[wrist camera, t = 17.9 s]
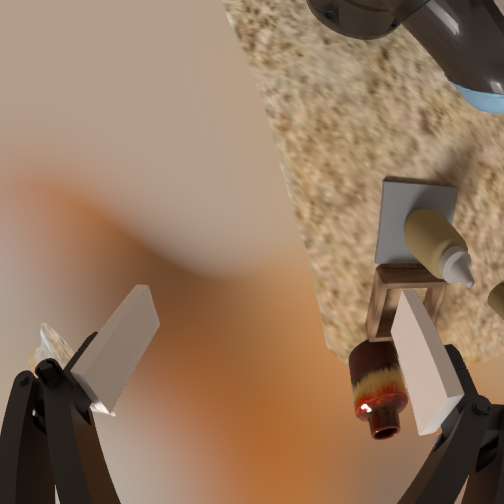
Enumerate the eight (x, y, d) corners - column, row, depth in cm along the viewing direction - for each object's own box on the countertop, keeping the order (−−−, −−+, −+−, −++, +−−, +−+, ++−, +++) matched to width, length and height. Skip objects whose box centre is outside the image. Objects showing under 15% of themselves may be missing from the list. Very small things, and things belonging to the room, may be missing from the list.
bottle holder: (375, 268, 46) (382, 283, 42) (437, 267, 44) (448, 281, 40) (364, 324, 52) (369, 342, 48) (421, 321, 50) (428, 337, 46)
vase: (395, 334, 52) (419, 413, 34) (393, 365, 57) (409, 438, 39) (347, 344, 55) (357, 427, 37) (349, 374, 59) (356, 449, 41)
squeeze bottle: (398, 202, 40) (450, 254, 24) (440, 201, 38) (501, 249, 22) (395, 248, 43) (436, 316, 27) (435, 245, 42) (485, 307, 26)
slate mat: (382, 180, 40) (384, 182, 39) (454, 186, 38) (457, 188, 37) (374, 260, 46) (375, 263, 45) (441, 260, 44) (443, 263, 43)
